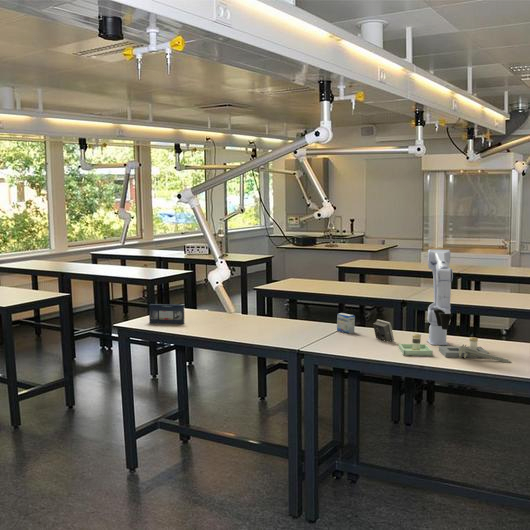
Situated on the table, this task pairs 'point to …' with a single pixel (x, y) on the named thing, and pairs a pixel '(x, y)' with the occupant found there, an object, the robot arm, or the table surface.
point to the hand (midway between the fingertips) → (442, 327)
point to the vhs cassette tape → (166, 313)
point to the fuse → (473, 343)
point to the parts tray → (407, 350)
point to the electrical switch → (383, 330)
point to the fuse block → (457, 351)
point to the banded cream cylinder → (416, 342)
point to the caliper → (480, 354)
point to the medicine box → (345, 322)
